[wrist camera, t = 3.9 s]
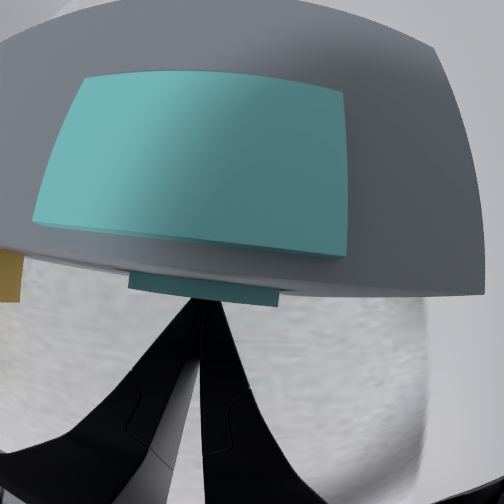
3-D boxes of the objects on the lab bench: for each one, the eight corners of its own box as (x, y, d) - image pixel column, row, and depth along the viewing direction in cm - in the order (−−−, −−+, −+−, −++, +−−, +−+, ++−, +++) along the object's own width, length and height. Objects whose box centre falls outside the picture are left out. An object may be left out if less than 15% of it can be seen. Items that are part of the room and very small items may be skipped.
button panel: (301, 296, 17) (496, 293, 3) (25, 257, 16) (-121, 214, 2) (307, 201, 18) (438, 41, 4) (41, 180, 17) (-76, 90, 3)
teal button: (261, 302, 11) (277, 307, 7) (162, 290, 11) (127, 288, 7) (269, 214, 12) (288, 176, 8) (175, 204, 11) (150, 163, 8)
